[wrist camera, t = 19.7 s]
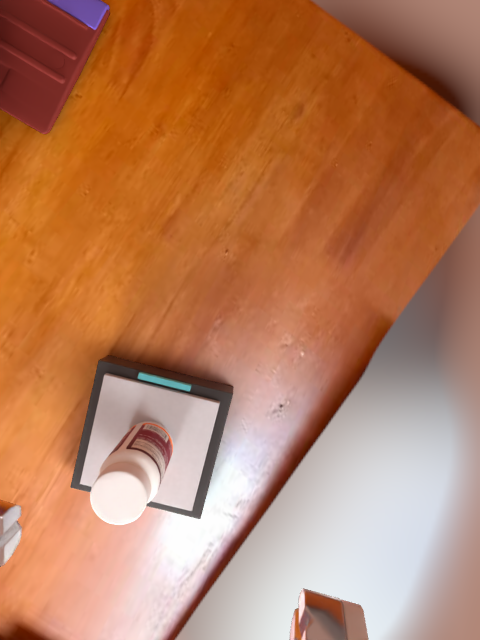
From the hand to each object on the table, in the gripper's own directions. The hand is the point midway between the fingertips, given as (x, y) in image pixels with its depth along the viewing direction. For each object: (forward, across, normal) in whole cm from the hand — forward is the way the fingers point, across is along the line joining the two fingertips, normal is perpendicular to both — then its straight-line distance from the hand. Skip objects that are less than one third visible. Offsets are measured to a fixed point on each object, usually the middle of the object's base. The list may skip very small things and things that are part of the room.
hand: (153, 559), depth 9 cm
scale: (+22, +8, +13) cm, 27 cm away
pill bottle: (+20, +7, +13) cm, 24 cm away
